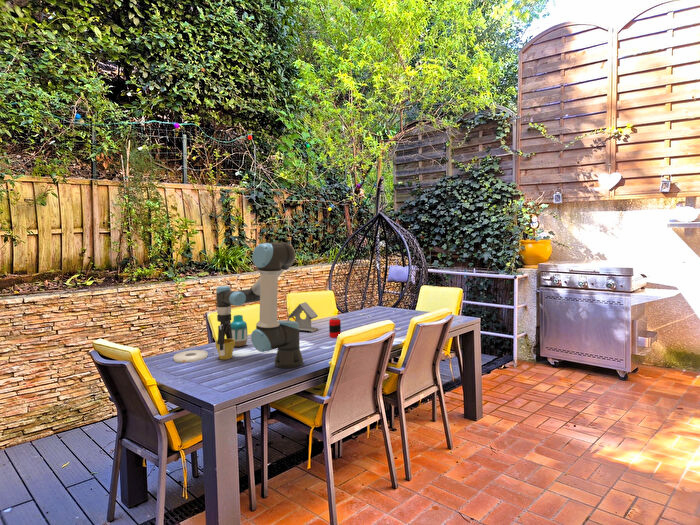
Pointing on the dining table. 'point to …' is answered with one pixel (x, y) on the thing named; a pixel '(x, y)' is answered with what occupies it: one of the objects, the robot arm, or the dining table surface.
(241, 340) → the vase
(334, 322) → the soda can
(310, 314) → the wooden nesting box
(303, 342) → the dining table surface
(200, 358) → the base
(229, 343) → the plant pot
